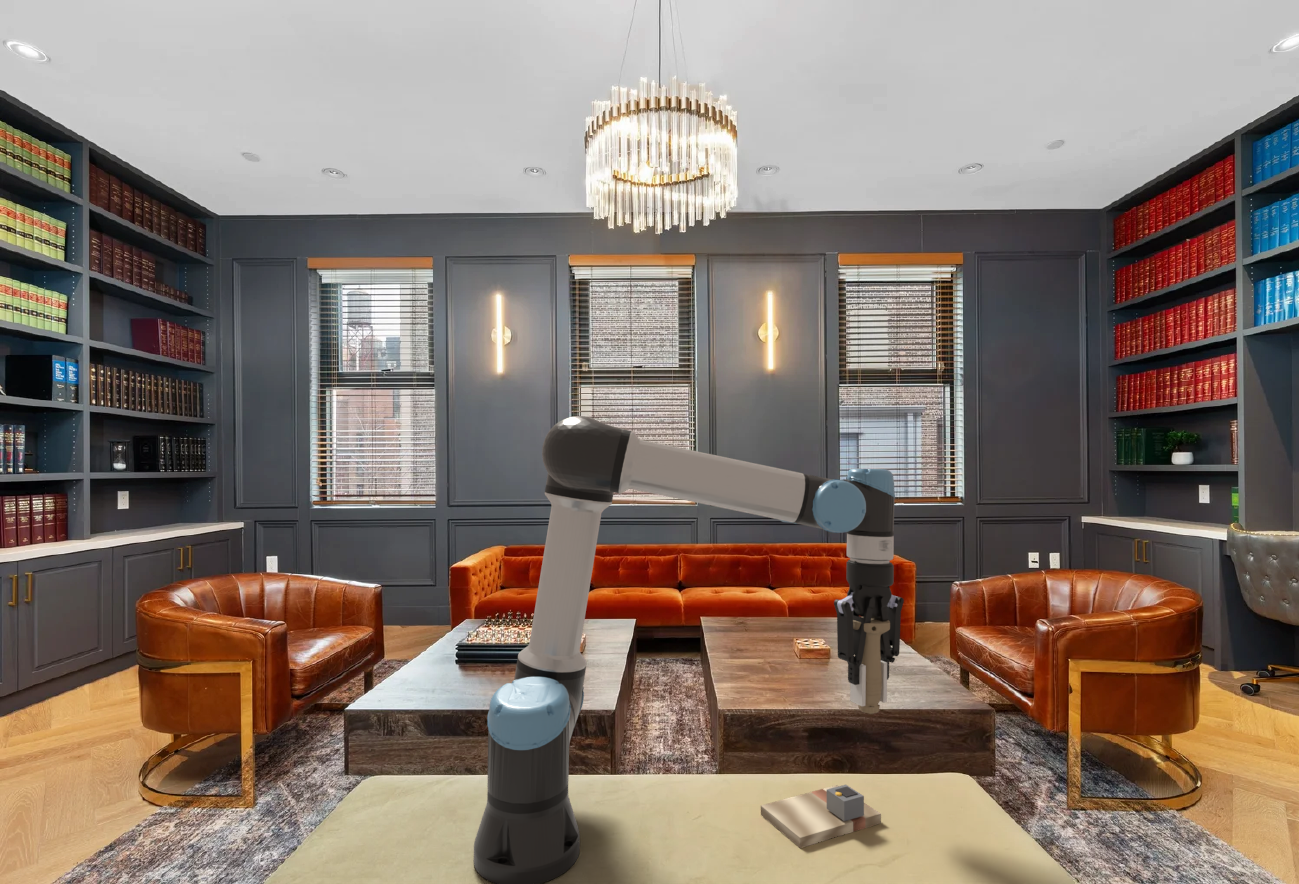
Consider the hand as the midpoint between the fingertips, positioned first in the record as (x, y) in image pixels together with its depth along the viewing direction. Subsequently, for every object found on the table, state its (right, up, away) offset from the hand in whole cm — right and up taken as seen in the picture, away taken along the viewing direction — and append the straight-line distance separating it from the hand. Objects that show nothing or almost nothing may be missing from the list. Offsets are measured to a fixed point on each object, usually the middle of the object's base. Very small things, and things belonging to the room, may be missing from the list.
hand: (868, 701), depth 105 cm
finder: (-5, -15, -5) cm, 17 cm away
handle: (0, -2, 0) cm, 2 cm away
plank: (-9, -17, -4) cm, 20 cm away
